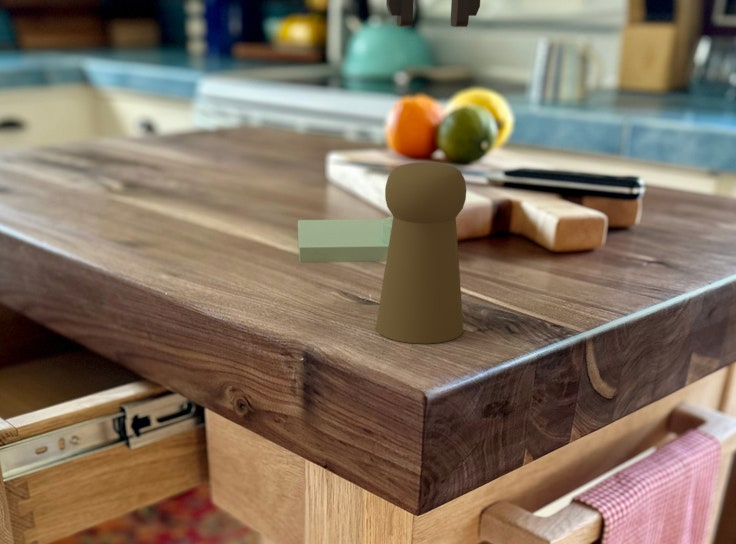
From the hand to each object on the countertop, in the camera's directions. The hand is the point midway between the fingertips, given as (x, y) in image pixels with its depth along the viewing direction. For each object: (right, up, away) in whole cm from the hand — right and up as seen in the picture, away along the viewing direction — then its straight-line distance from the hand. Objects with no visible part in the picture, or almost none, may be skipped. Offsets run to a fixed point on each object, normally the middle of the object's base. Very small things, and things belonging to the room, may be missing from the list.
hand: (432, 24), depth 52 cm
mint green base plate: (-3, -8, +27) cm, 29 cm away
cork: (0, -18, +8) cm, 19 cm away
